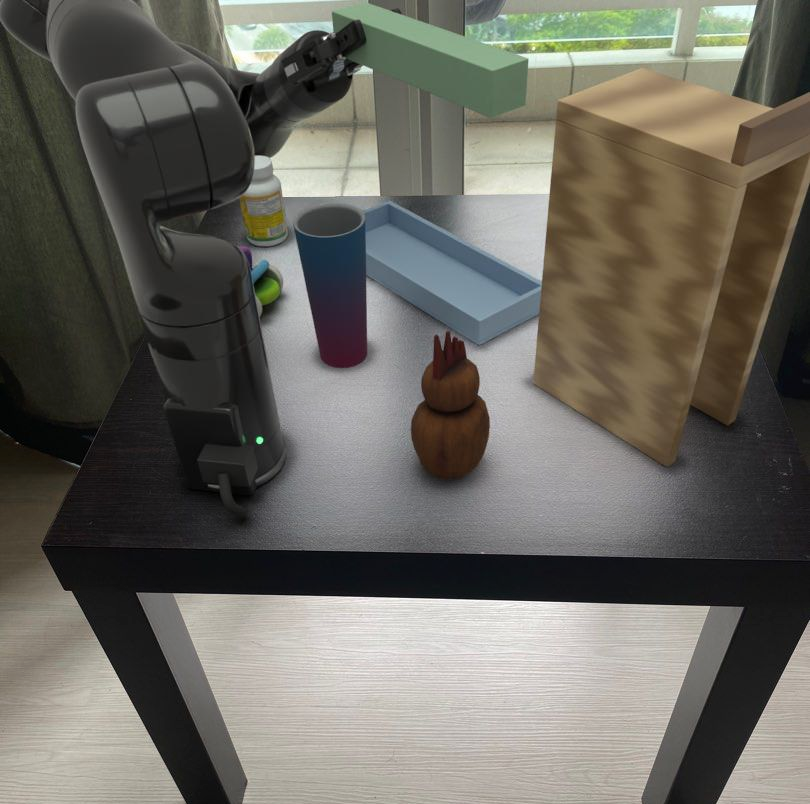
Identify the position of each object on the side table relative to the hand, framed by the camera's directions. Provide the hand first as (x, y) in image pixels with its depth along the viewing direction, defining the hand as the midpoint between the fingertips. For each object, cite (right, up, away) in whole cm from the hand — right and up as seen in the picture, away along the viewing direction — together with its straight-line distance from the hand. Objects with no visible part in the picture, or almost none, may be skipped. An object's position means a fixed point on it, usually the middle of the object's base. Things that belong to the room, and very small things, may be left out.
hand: (380, 25), depth 85 cm
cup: (-4, -32, +6) cm, 33 cm away
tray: (+5, -21, +15) cm, 26 cm away
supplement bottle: (-15, -13, +24) cm, 31 cm away
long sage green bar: (+4, -6, -1) cm, 7 cm away
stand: (+25, -38, -2) cm, 45 cm away
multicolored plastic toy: (-16, -25, +13) cm, 32 cm away
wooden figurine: (+7, -45, -7) cm, 46 cm away
